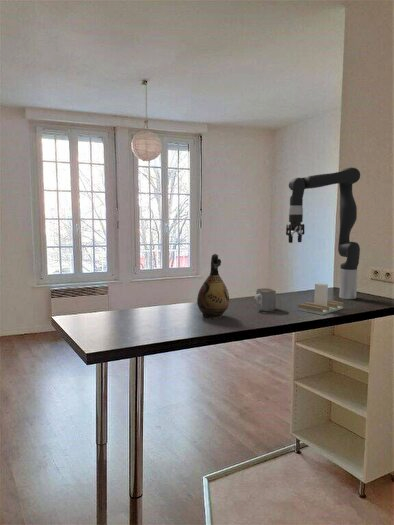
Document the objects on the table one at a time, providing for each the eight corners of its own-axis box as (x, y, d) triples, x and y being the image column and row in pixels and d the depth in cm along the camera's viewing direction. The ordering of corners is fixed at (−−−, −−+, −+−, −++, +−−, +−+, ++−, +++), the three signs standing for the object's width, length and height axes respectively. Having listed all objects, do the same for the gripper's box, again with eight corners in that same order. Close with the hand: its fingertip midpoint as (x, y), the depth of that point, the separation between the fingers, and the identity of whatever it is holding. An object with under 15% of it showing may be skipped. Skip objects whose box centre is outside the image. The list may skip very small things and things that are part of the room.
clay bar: (318, 305, 211) (319, 283, 210) (327, 307, 207) (327, 284, 206) (314, 306, 209) (314, 283, 207) (322, 308, 205) (323, 285, 203)
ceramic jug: (231, 320, 186) (232, 256, 183) (198, 320, 185) (198, 256, 182) (226, 311, 203) (226, 252, 200) (195, 312, 202) (195, 252, 199)
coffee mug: (267, 305, 217) (267, 287, 215) (279, 309, 208) (279, 290, 207) (246, 308, 210) (247, 289, 209) (258, 312, 201) (259, 292, 200)
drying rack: (319, 304, 220) (319, 298, 220) (343, 308, 209) (343, 302, 209) (297, 309, 207) (297, 303, 207) (321, 314, 196) (322, 308, 196)
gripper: (293, 213, 220) (293, 243, 222) (308, 213, 229) (308, 242, 231) (282, 213, 225) (282, 242, 227) (297, 214, 235) (297, 241, 236)
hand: (295, 242), depth 229 cm, fingers open, 8 cm apart
